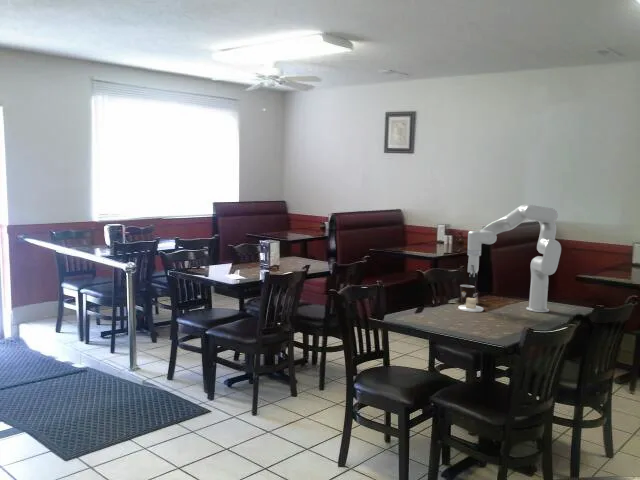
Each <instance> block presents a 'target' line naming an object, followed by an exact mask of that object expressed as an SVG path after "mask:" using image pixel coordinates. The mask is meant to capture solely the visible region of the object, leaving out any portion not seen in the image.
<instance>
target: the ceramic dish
mask: <svg viewBox="0 0 640 480" xmlns="http://www.w3.org/2000/svg"><path fill="white" fill-rule="evenodd" d="M457 309H458V310H459V311H463V312H466V313H468V312H469V313H481V312H483V311H484V307H483V306H479V305H476V308H475V309H473V308H466V304H460V305H458V308H457Z"/></svg>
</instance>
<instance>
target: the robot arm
mask: <svg viewBox="0 0 640 480" xmlns="http://www.w3.org/2000/svg"><path fill="white" fill-rule="evenodd" d="M558 216H559V214H558V212H557V210H556V209H555V208H552V207H548V206H540V205H536V204H528V203H524V204H521V205H519V206H518V207H516V208H514V209H513V210H512V211H510V212H509V213H507V214H506V215H505V216H502V217H501V218H499V219H497V220H495V221H492V222H491V223H489V224H488V225H486V226H484V227H483V228H482V229H480V230H479V231H478V230H470V231H468V233H467V254H466V255H467V256H468V258H467V259H468V260H467V261H468V263H467V273H469V276H468V284H469V285H471V284H472V285H474V284H476V282H478V281H479V280H478V279H479V275H478V274H479V273H478V272H479V268H480V267H479V266H480V257H481V256H482V245H483V244H485V245H492V244H494V243H496V242H497V240H498V239H497V238H498V236H497V235H498V234H501V233H504V232H509V231H511V230H513V229H515V228H516V227H518V226H519V225H520V224H522V223H524V222H525V221H527V220H528V221H529V220H531V221H535V222H538V223H539V226H540V231H539V237H538V240H537V244H536V250H537V251H538V253H539V254H542V256H540V255H537V256H535V257H533V258H532V259H531V262H530V288H529V301H528V302H529V303H528V306H526V308H525V310H527V311H530V312H535V313H548V312H550V309H549V308H547V305H548V291H549V276H551V275H553V274H555V273H556V271H557V269H558V265H559V262H560V257H561V254H562V245H561V243H560V242H559V241H558V240H556V234H557V224H556V222H555V221H556V220H557V219H558Z"/></svg>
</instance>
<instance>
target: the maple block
mask: <svg viewBox="0 0 640 480" xmlns="http://www.w3.org/2000/svg"><path fill="white" fill-rule="evenodd" d="M465 305H466V308H473V309H475V308H476V306H477V298H476V297H475V298H467V299H466V303H465Z"/></svg>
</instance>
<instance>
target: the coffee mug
mask: <svg viewBox="0 0 640 480" xmlns="http://www.w3.org/2000/svg"><path fill="white" fill-rule="evenodd" d="M459 287H460V302H461V303H463V302H464V304H466V299H467V298H475V299H476V297H478V296H479V295H480V291H479V290H478V289H475V288H476V287H475V286H474V285H473V284H472V285H471V284H460V285H459ZM475 291H476V293H477V294H476V295H475V296H474V293H475Z"/></svg>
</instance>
